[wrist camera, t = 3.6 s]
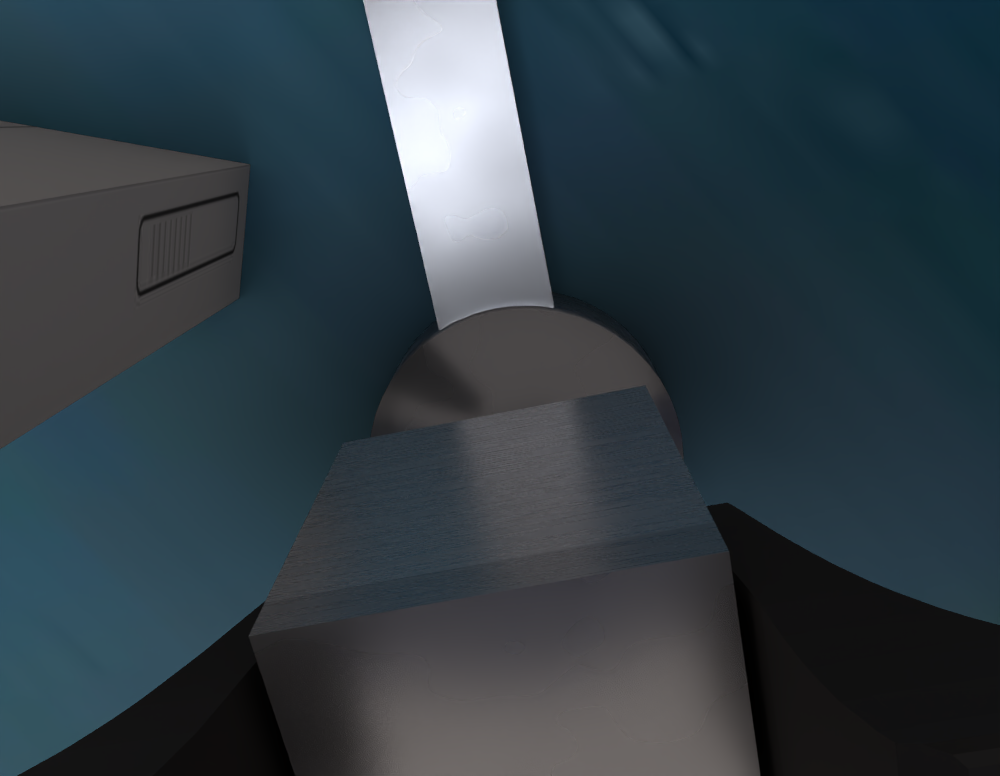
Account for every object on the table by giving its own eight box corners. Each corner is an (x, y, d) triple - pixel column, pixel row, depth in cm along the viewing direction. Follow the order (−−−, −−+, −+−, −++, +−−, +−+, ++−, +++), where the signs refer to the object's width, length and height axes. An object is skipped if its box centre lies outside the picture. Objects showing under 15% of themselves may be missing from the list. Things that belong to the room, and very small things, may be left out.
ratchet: (685, 530, 19) (728, 638, 15) (420, 575, 20) (393, 691, 16) (503, -615, 14) (494, -923, 10) (140, -511, 14) (-12, -759, 10)
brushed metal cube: (645, 385, 13) (729, 551, 8) (687, 649, 14) (782, 928, 9) (343, 442, 13) (248, 635, 8) (412, 696, 15) (366, 989, 10)
